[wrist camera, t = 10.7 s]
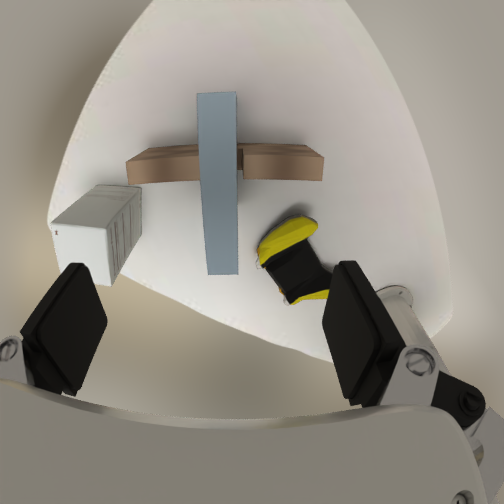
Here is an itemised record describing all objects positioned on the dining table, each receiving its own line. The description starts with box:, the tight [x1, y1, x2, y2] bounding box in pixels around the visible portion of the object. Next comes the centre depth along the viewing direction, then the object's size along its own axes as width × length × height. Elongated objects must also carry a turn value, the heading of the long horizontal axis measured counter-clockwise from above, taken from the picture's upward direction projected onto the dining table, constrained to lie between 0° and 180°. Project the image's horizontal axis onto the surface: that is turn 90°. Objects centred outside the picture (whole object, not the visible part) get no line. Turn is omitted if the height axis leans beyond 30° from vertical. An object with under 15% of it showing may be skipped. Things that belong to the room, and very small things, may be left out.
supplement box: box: [50, 185, 141, 287], centre depth 30 cm, size 7×7×13 cm
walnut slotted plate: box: [126, 143, 324, 185], centre depth 29 cm, size 20×2×8 cm, turn 89°
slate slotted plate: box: [197, 92, 238, 275], centre depth 26 cm, size 14×2×16 cm, turn 0°
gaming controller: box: [256, 214, 333, 305], centre depth 39 cm, size 15×6×10 cm
